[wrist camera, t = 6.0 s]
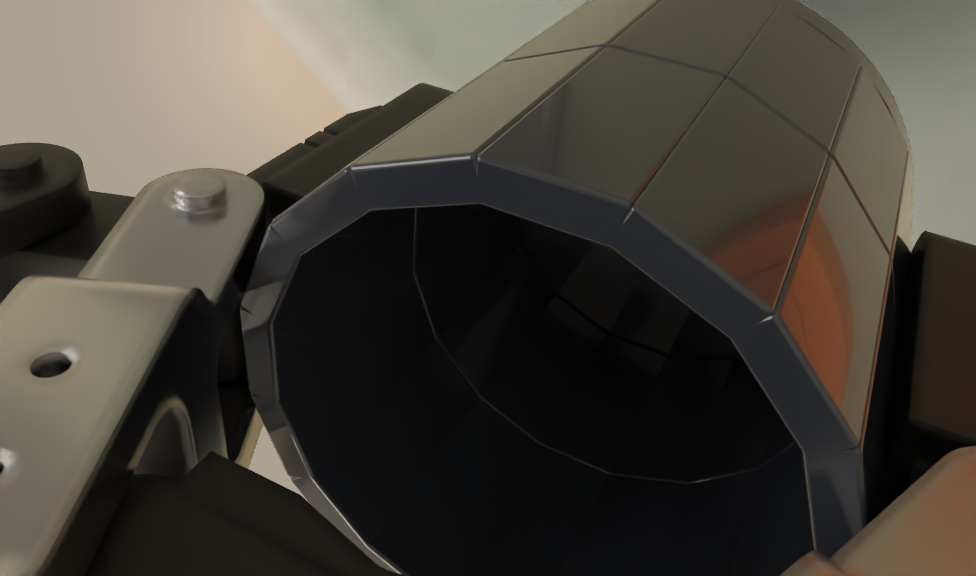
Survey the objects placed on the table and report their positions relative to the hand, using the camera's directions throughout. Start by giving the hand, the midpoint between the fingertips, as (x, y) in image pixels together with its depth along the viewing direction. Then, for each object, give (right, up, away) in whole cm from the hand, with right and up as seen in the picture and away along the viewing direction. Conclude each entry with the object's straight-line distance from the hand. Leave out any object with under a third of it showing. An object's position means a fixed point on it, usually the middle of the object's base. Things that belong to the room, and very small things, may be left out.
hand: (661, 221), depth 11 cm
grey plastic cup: (+1, +1, +1) cm, 1 cm away
